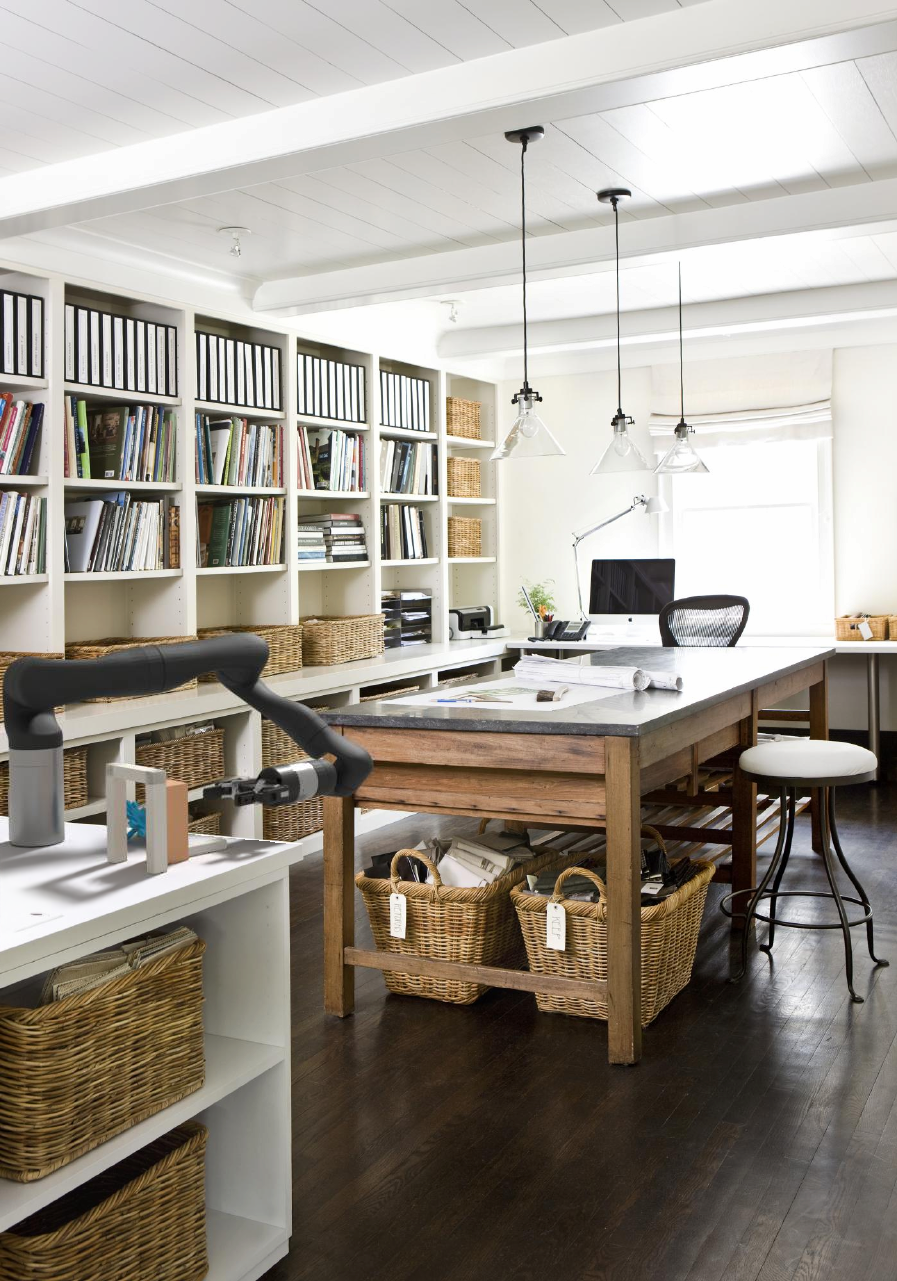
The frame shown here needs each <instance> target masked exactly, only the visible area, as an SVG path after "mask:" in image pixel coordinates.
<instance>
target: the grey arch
mask: <svg viewBox="0 0 897 1281" xmlns="http://www.w3.org/2000/svg"><path fill="white" fill-rule="evenodd" d="M166 780H167V770H165V769H159V768H153V767H149V766H143V765H137V764H132V763H125V762H122V761H121V762H120V761H116V762H109V763H106V764H105V781H106V782H105V785H106V786H105V787H106V789H105V790H106V796H105V797H106V838H107V839H106V842H107V843H106V844H107V845H106V846H107V848H106V849H107V855H106V856H107V862H108V861H109V862H108V863H112V864H118V863H122V861H123V862H126V861H128V841H127V833H128V827H127V826H128V822H127V820H128V819H127V808H126V800H127V781H130V782H131V781H132V782H136V783H141V784H144V785H145V784H146V794H145V808H146V834H145V837H146V836H147V860H146V873H147V872H148V873H147V874H151V875H159V874H162V873H161V872H163V873H167V872H168V864H167V805H166Z"/></svg>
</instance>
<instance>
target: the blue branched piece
mask: <svg viewBox="0 0 897 1281" xmlns="http://www.w3.org/2000/svg"><path fill="white" fill-rule="evenodd" d="M138 807H139V803H138V802H136V801H135V800H133V801H132V802H131V801H130V800H129V799H126V808H127V820H128V822H127V825H128V826H129V827H130V828H131V829H130V830H128V831H127V842H128V841H130V839H132V837H133V836H134V835H135V834H136V837H138V838H139V837H141V838H144V836H146V806H145V807H144V806H143V807H142V808H141V809H139V808H138Z"/></svg>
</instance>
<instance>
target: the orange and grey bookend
mask: <svg viewBox="0 0 897 1281" xmlns="http://www.w3.org/2000/svg"><path fill="white" fill-rule="evenodd" d="M144 785H145V789H144V790H145V794H144V795H146V784H145V783H144ZM188 785H189V783H187V782H183V781H179V780H174V779H166V805H167V865H170V864H174V863H178V862H179V861H180V862H183V861H188V859H190V857H195V856H198V855H203V854H207V853H208V852H209V853H212V852H217V851H222V850H226V849H228V847H227V846H228V843H227V842H228V839H226V838H222V837H219V838H215V839H210V840H204V841H200V842H196V843H195V842H194V843H189V796H188V795H189V791H188V790H189V786H188ZM145 840H146V841H145V842H146V843H145V846H146V847H145V848H146V849H145V850H146V857H145V858H146V861H147V836H146V835H145ZM169 863H170V864H169Z"/></svg>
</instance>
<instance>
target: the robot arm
mask: <svg viewBox="0 0 897 1281" xmlns="http://www.w3.org/2000/svg"><path fill="white" fill-rule="evenodd" d="M270 654H271V652H270V646H269V644H268V642H267V641H266V640H265V639H264V638H263V637H260V636H259V635H257V634H253V633H250V632H235V633H229V634H224V635H220V636H215V637H212V638H210V637H209V638H206V639H201V640H195V641H186V642H178V643H171V644H163V645H162V644H161V645H147V646H136V647H131V648H123V649H120V650H117V651H113V652H109V653H107V654H105V655H102V656H98V657H93V658H88V659H87V658H85V659H51V658H45V657H44V658H43V657H38V656H23V657H22V656H21V657H19V658H17V659H14V660H13V661H12V662H11V663H10V664H9V665H8V667H7V668H6V669H5V671H4V674H3V677H2V683H1V684H2V687H1V688H2V689H1V690H2V692H1V696H2V710H3V711H2V712H3V714H2V715H3V726H4V730H5V733H6V737H7V740H8V741H7V743H8V772H9V777H8V778H9V783H8V784H9V788H8V789H7V800H8V805H7V806H8V840H9V841H10V844H11V845H14V846H17V847H42V846H48V845H55V844H58V843H61V842H63V841H64V840H65V838H66V833H65V832H66V831H65V825H66V824H65V782H64V781H65V780H64V779H65V775H64V773H65V772H64V769H65V768H64V767H65V766H64V733H63V730H62V729H61V727H60V725H59V723H58V721H57V719H56V713H55V712H56V711H55V708H59V707H62V706H63V707H64V706H67V705H71V704H74V703H79V702H83V701H87V700H88V701H89V700H92V699H93V700H94V699H103V698H104V699H106V698H108V699H110V698H112V699H113V698H115V699H116V698H117V699H118V698H130V697H142V696H149V695H156V694H157V695H158V694H163V693H167V692H169V691H172V690H175V689H177V688H180V687H181V686H183V685H185V684H188V683H189V682H190V681H192V680H195V679H197V678H199V677H202V676H203V675H206V674H209V673H212V672H214V675H215V678H216V679H217V680H218V681H219V683H220V684H221V685H223V686H224V687H225V688H226V689H227V690H228V691H230V692H231V693H233V694H234V696H236V697H238V698H239V699H240V700H242V701H243V702H244V703H246V704H247V705H248V706H250V707H251V708H253V709H254V710H255V711H257V713H260V714H261V715H262V716H264V717H265V718H266V719H269V721H271V722H272V723H273V724H275V725H276V726H277V727H278V728H280V729H281V730H282V731H283V732H284V733H285V734H286V735H287V736H288V737H289V738H290V739H291V740H292V741H293V742H294V743H296V745H297V746H298V747H299V748H300V749H301V750H302V751H303V752H304V753H305V754H306V755H307V756H309V757H310V759H311V760H306V761H295V762H294V761H293V762H288V763H282V764H277V765H272V766H267V767H264V768H263V769H262V770H260V772H259V774H258V775H257V777H248V778H247V779H243V778H242V777H237V778H232V779H226V780H221V781H215V782H214V786H210V787H208V786H207V787H205V788H203V789H202V800H203V801H205V802H206V801H207V802H208V801H209V802H210V801H212V800H218V799H226V798H231V799H232V800H233V801H234V804H233V805H234V806H235V807H239V808H240V807H244V806H245V807H246V806H249V805H255V806H256V805H264V806H265V807H266V806H267V807H269V808H278V807H284V806H287V805H291V804H295V803H296V804H297V803H300V802H303V801H306V800H308V799H312V798H316V797H321V796H326V797H333V798H347V797H350V796H352V795H354V794H355V793H356V792H357V791H358V790H359V788H360V787H361V786H362V784H364V782H365V780H367V778H368V777H369V775H370V774H371V773H372V771H373V769H374V761H373V757H372V756H371V755H370V753H369V752H368V750H367V749H365V748H364V747H362V746H361V745H359V744H358V743H356V742H354V741H352V740H351V739H348V738H347V737H346V736H343V735H342V734H340V733H338V732H337V731H335V730H334V729H332V728H331V726H330V725H328V723H326V722H325V721H324V719H323V718H321V716H319V715H318V713H316V712H315V711H314V710H313V709H311V708H310V707H308V706H307V705H304V704H303V703H300V702H297V701H294V700H291V699H289V698H285V697H284V696H280V695H279V694H277V693H275V692H273V691H272V690H271V689H270V688H269V687H268V686H266V684H265V683H264V682H263V681H262V680H261V679H260V676H261V674H262V673H263V671H264V669H265V668H266V665H267V664H268V662H269V661H268V660H269V659H270ZM327 754H328V755H332V756H333V757H336V759H335V760H334V762H333V763H332V762H330V761H329V760H327V759H323V758H324V757H325V756H326V755H327Z"/></svg>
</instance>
